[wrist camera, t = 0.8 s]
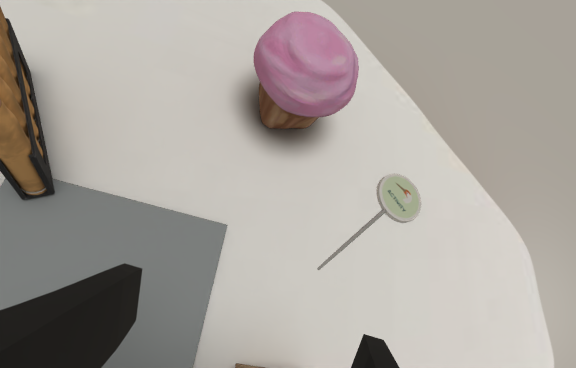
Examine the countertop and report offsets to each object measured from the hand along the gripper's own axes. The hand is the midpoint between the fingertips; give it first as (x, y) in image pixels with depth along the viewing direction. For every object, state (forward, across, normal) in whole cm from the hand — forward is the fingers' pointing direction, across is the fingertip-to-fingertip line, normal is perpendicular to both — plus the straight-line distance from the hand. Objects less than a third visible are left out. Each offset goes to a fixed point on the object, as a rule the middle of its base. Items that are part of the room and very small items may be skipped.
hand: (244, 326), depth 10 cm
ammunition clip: (+13, +20, 0) cm, 23 cm away
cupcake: (+25, +4, -4) cm, 26 cm away
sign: (+23, -7, +4) cm, 24 cm away
